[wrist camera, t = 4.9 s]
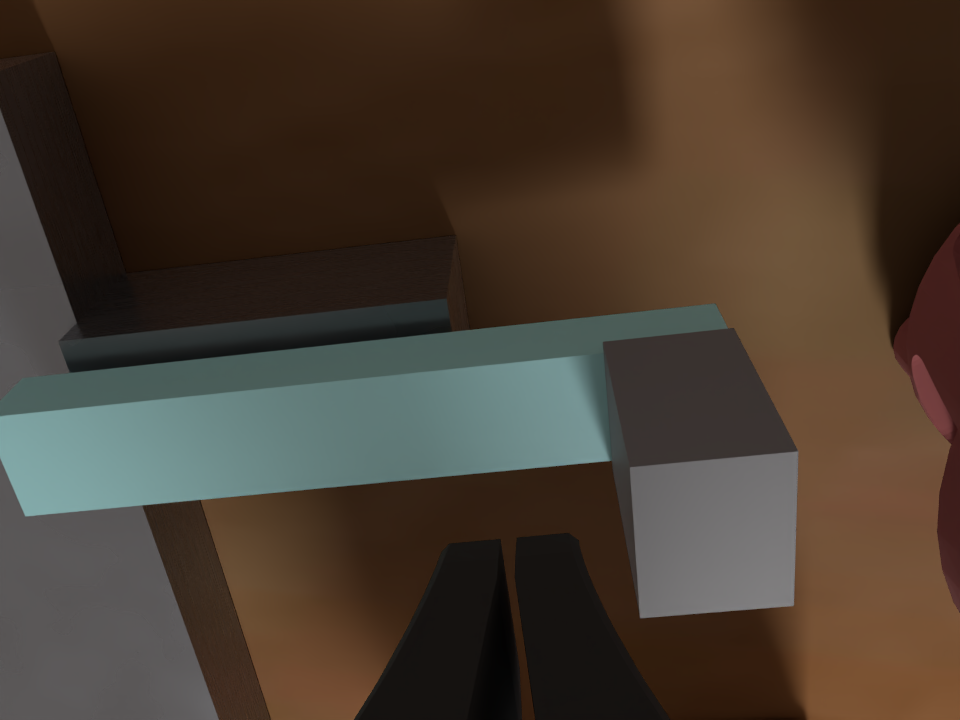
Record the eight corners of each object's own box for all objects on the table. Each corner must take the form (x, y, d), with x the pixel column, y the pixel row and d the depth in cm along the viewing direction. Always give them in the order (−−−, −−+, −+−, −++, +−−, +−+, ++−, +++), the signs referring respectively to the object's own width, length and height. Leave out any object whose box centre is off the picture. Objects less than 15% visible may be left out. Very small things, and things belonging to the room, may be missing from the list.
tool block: (420, 1, 17) (402, 24, 14) (554, 896, 28) (559, 1012, 25) (-612, 142, 18) (-824, 190, 16) (-89, 933, 30) (-154, 1046, 27)
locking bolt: (715, 292, 15) (798, 451, 11) (717, 416, 16) (793, 606, 12) (18, 368, 16) (-160, 541, 12) (63, 480, 17) (-85, 676, 13)
